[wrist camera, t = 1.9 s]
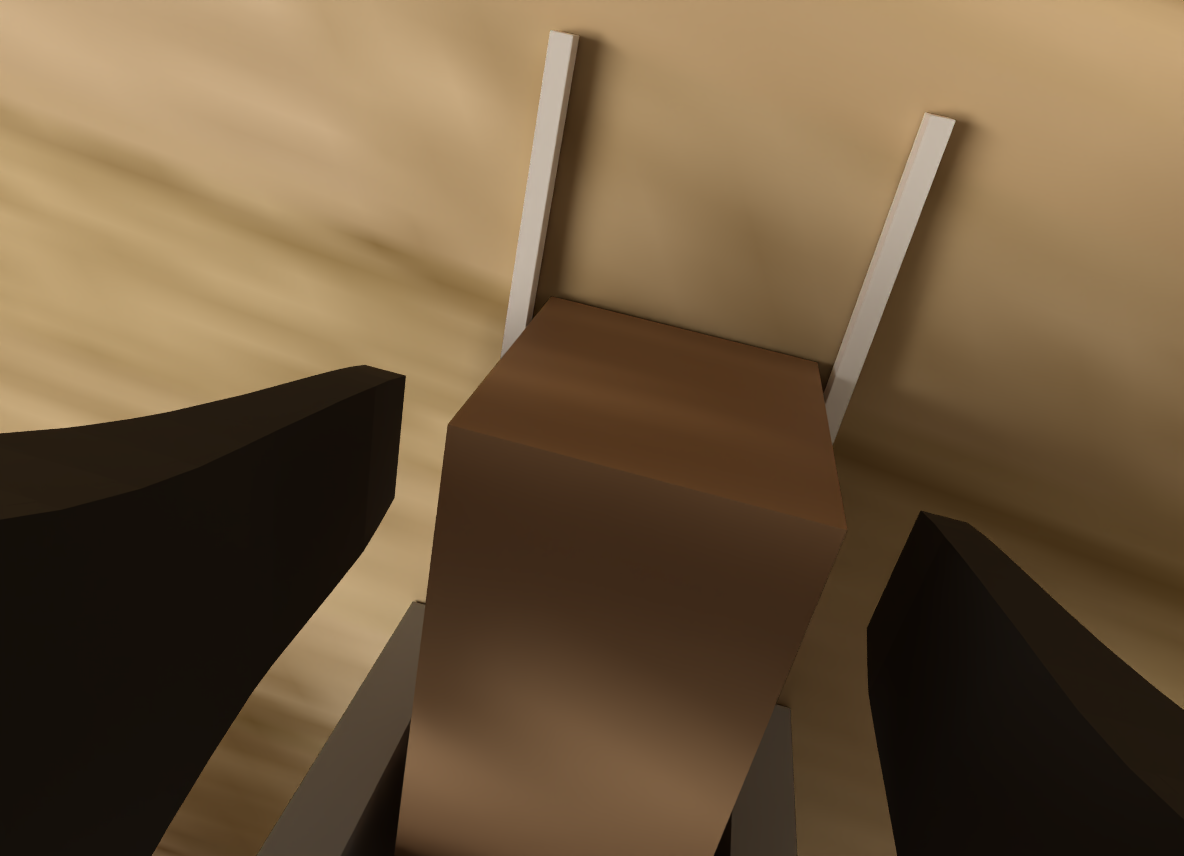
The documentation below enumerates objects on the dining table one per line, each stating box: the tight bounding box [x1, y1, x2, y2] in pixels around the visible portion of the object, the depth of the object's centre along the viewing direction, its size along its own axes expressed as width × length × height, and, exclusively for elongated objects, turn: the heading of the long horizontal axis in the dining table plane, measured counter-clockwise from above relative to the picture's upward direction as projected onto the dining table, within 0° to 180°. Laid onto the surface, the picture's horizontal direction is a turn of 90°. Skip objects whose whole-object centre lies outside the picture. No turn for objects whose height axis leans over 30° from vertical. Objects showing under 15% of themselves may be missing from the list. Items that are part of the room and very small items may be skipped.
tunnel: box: [256, 30, 956, 856], centre depth 12 cm, size 18×7×6 cm, turn 169°
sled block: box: [394, 296, 847, 856], centre depth 13 cm, size 14×4×4 cm, turn 169°
